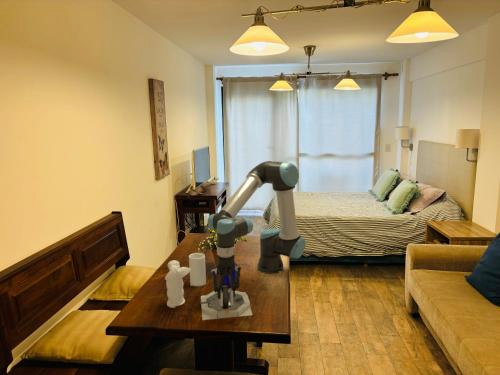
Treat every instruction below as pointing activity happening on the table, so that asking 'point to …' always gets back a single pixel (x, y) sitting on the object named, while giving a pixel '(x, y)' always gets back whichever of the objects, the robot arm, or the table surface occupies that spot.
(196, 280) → the cup
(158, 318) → the table surface
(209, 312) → the grey octagonal tray
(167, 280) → the cherub figurine
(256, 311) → the table surface
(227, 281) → the ornament
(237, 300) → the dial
